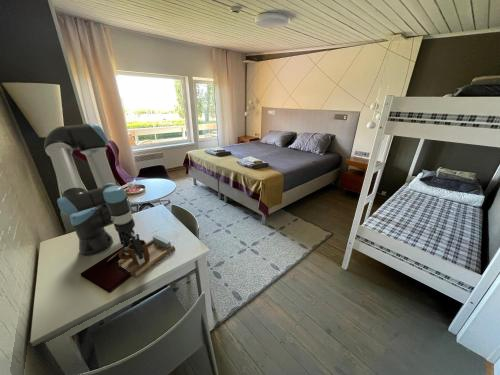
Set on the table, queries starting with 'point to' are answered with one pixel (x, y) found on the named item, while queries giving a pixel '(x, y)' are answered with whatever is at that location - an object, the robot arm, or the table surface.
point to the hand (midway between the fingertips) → (136, 259)
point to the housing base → (155, 256)
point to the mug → (132, 253)
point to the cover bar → (161, 241)
